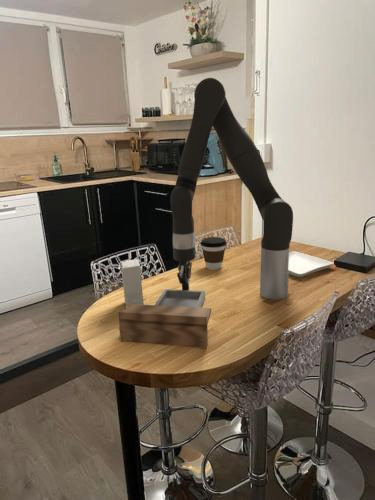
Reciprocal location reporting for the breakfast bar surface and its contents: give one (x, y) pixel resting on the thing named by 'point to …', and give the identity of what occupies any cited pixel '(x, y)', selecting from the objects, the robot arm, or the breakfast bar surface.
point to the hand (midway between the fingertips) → (185, 292)
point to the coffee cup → (213, 252)
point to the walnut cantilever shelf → (164, 325)
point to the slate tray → (181, 298)
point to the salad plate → (305, 264)
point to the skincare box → (132, 282)
